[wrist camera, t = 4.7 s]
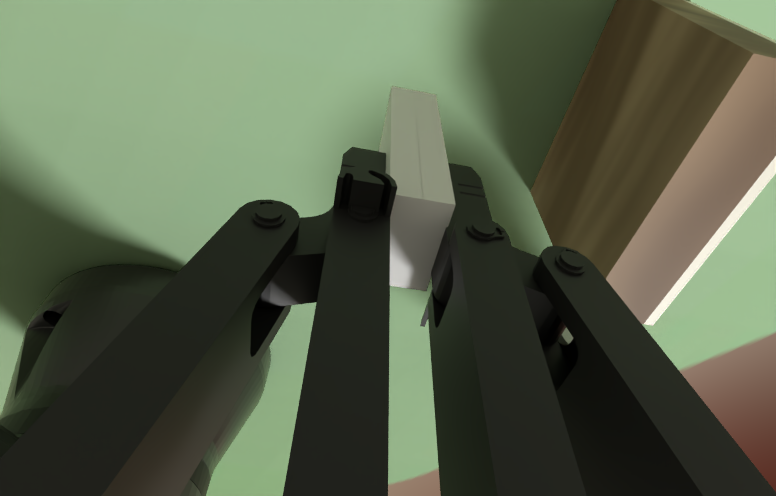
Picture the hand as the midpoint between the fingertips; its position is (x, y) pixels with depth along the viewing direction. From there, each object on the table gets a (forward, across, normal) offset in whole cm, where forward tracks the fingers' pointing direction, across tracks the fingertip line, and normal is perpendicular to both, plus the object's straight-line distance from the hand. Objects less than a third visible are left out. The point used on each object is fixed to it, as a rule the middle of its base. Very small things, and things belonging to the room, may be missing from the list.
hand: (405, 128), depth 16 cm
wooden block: (+7, +10, 0) cm, 12 cm away
